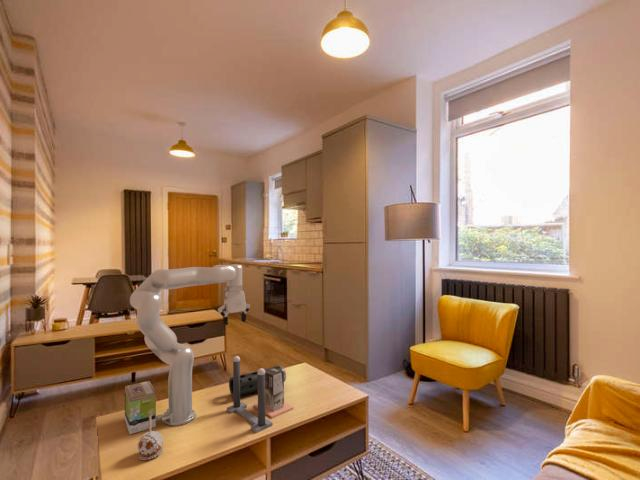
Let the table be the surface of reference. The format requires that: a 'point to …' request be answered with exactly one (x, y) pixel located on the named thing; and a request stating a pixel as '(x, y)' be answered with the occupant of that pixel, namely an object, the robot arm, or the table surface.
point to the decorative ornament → (150, 444)
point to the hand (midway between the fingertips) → (234, 323)
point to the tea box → (140, 406)
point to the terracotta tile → (276, 412)
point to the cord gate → (239, 407)
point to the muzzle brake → (250, 382)
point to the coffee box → (274, 388)
